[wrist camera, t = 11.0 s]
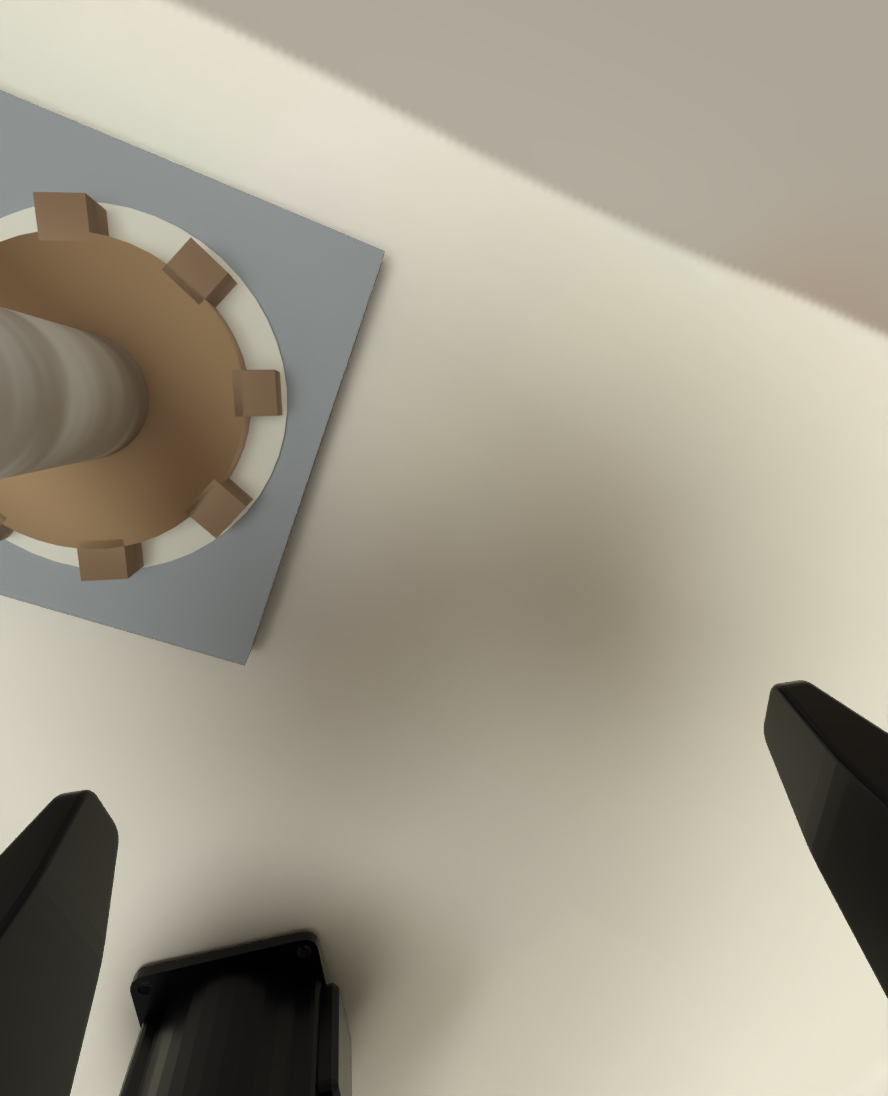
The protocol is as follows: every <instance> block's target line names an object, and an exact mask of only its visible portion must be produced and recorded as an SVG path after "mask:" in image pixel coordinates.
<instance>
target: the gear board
mask: <svg viewBox="0 0 888 1096" xmlns="http://www.w3.org/2000/svg"><path fill="white" fill-rule="evenodd" d="M33 192H69V193H86V194H87V195H88V196H90V197H91V198H92V199H93V200H94V201H96V202H97V203H98V204H99V205H101V206H102V207H103V208H104V209H105V210H106V213H107V222H108V232H109V236H110V237H113V238H116V239H119V240H121V241H124V242H127V243H130V244H132V245H134V246H136V247H138V248H141V249H143V250H145V251H147V252H149V253H151V254H152V255H154V256H155V257H157V258H159V259H160V260H162V261H163V262H165V263H166V264H167V263H168V262H169V261H170V260H171V259H172V258H173V257H174V255H175V254H176V253H177V252H178V251H179V250H180V249H181V248H182V247H183V245H184V244H185V243H186V242H187V241H188V240H189V239H190V238H192V239H193V240H194V241H195V242H196V243H197V244H198V245H200V246H201V247H202V248H203V249H204V250H205V251H206V252H207V253H208V254H209V255H210V256H211V257H212V258H213V259H214V260H215V261H216V262H217V263H218V264H219V265H220V266H222V267H223V268H224V269H225V270H226V271H227V272H228V273H229V274H230V275H231V277H232V278H233V279H234V280H235V281H236V282H237V284H236V286H235V287H234V288H233V289H232V290H231V291H230V292H229V293H228V294H227V296H226V297H225V298H224V299H223V300H222V301H221V302H220V303H219V304H218V305H217V307H216V309H217V310H218V311H219V313H220V314H221V316H222V317H223V318H224V320H225V321H226V323H227V324H228V326H229V328H230V330H231V331H232V333H233V335H234V337H235V338H236V341H237V343H238V346H239V348H240V350H241V353H242V355H243V358H244V362H245V366H246V369H247V370H273V369H275V370H276V371H278V372H280V382H281V398H282V414H283V415H280V416H251V417H250V424H249V432H248V435H247V439H246V443H245V447H244V450H243V452H242V454H241V457H240V459H239V462H238V464H237V466H236V468H235V469H234V471H233V473H232V474H231V476H230V478H229V479H231V480H232V481H233V482H234V483H235V484H236V485H238V486H239V487H240V488H241V489H242V490H243V491H244V492H246V493H247V494H248V495H249V496H250V497H251V498H252V499H253V500H252V501H251V502H250V503H249V504H248V505H247V507H246V508H245V509H244V510H243V511H242V512H241V513H240V514H239V515H238V516H237V517H236V518H235V520H234V521H233V522H232V523H231V524H230V525H229V526H228V527H227V528H226V529H225V530H224V531H223V532H222V533H221V534H220V535H219V537H218V538H217V539H216V538H215V537H214V536H213V535H211V534H210V533H209V532H208V531H207V530H205V529H204V528H203V527H202V526H201V525H199V524H198V523H197V522H196V521H195V520H193V519H192V518H191V517H189V518H187V519H186V520H185V521H183V522H182V523H180V524H179V525H178V526H176V527H174V528H172V529H171V530H169V531H167V532H165V533H163V534H161V535H159V536H157V537H154V538H151V539H149V540H146V541H143V542H141V544H142V553H143V562H144V566H143V567H142V568H141V569H140V570H138V571H137V572H136V573H135V574H133V575H132V576H131V577H130V578H128V579H116V580H96V581H81V577H80V569H79V561H78V553H77V548H70V547H63V546H57V545H54V544H50V543H46V542H42V541H38V540H36V539H33V538H31V537H28V536H25V535H23V534H20V533H18V532H16V531H13V532H12V534H11V535H10V536H9V537H8V538H6V539H4V540H1V541H0V595H3V596H6V597H10V598H13V599H16V600H20V601H23V602H27V603H30V604H34V605H37V606H41V607H44V608H48V609H51V610H54V611H58V612H61V613H65V614H68V615H72V616H75V617H79V618H82V619H86V620H89V621H92V622H96V623H99V624H103V625H106V626H110V627H113V628H117V629H120V630H124V631H127V632H130V633H134V634H137V635H141V636H144V637H148V638H151V639H155V640H158V641H162V642H165V643H168V644H172V645H175V646H179V647H182V648H186V649H189V650H193V651H196V652H200V653H203V654H206V655H210V656H213V657H217V658H220V659H224V660H227V661H231V662H234V663H238V664H241V665H244V666H245V664H246V661H247V658H248V656H249V653H250V651H251V648H252V645H253V642H254V639H255V636H256V633H257V630H258V627H259V624H260V621H261V618H262V615H263V612H264V609H265V606H266V603H267V600H268V597H269V595H270V592H271V589H272V586H273V583H274V580H275V577H276V574H277V571H278V568H279V565H280V562H281V559H282V556H283V553H284V550H285V547H286V544H287V541H288V538H289V535H290V532H291V529H292V526H293V523H294V521H295V518H296V515H297V512H298V509H299V506H300V503H301V500H302V497H303V494H304V491H305V488H306V485H307V482H308V479H309V476H310V473H311V470H312V467H313V464H314V461H315V458H316V455H317V452H318V450H319V447H320V444H321V441H322V438H323V435H324V432H325V429H326V426H327V423H328V420H329V417H330V414H331V411H332V408H333V405H334V402H335V399H336V396H337V393H338V390H339V387H340V384H341V381H342V378H343V376H344V373H345V370H346V367H347V364H348V361H349V358H350V355H351V352H352V349H353V346H354V343H355V340H356V337H357V334H358V331H359V328H360V325H361V322H362V319H363V316H364V313H365V310H366V307H367V304H368V302H369V299H370V296H371V293H372V290H373V287H374V284H375V281H376V278H377V275H378V272H379V269H380V266H381V263H382V260H383V256H384V252H385V251H383V250H381V249H378V248H376V247H373V246H371V245H369V244H366V243H364V242H362V241H359V240H357V239H354V238H352V237H350V236H347V235H345V234H342V233H340V232H338V231H335V230H333V229H331V228H328V227H326V226H323V225H321V224H319V223H316V222H314V221H311V220H309V219H307V218H304V217H302V216H299V215H297V214H295V213H292V212H290V211H288V210H285V209H283V208H280V207H278V206H276V205H273V204H271V203H268V202H266V201H264V200H261V199H259V198H256V197H254V196H252V195H249V194H247V193H245V192H242V191H240V190H237V189H235V188H233V187H230V186H228V185H225V184H223V183H221V182H218V181H216V180H214V179H211V178H209V177H206V176H204V175H202V174H199V173H197V172H194V171H192V170H190V169H187V168H185V167H182V166H180V165H178V164H175V163H173V162H171V161H168V160H166V159H163V158H161V157H159V156H156V155H154V154H151V153H149V152H147V151H144V150H142V149H139V148H137V147H135V146H132V145H130V144H128V143H125V142H123V141H120V140H118V139H116V138H113V137H111V136H108V135H106V134H104V133H101V132H99V131H97V130H94V129H92V128H89V127H87V126H85V125H82V124H80V123H77V122H75V121H73V120H70V119H68V118H65V117H63V116H61V115H58V114H56V113H54V112H51V111H49V110H46V109H44V108H42V107H39V106H37V105H34V104H32V103H30V102H27V101H25V100H22V99H20V98H18V97H15V96H13V95H11V94H8V93H6V92H3V91H1V90H0V242H1V241H4V240H7V239H10V238H13V237H15V236H18V235H23V234H28V233H33V232H38V230H37V222H36V214H35V206H34V198H33Z"/></svg>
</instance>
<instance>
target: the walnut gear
mask: <svg viewBox="0 0 888 1096" xmlns="http://www.w3.org/2000/svg"><path fill="white" fill-rule="evenodd" d="M33 198H34V206H35V214H36V222H37V230H38V232H33V233H28V234H23V235H18V236H15V237H13V238H10V239H7V240H4V241H1V242H0V541H1V540H4V539H6V538H8V537H9V536H10V535H11V534H12V532H13V531H16V532H18V533H20V534H23V535H25V536H28V537H31V538H33V539H36V540H38V541H42V542H46V543H50V544H54V545H57V546H63V547H70V548H77V553H78V561H79V569H80V577H81V581H96V580H116V579H128V578H130V577H131V576H132V575H133V574H135V573H136V572H137V571H138V570H140V569H141V568H142V567H143V566H144V562H143V553H142V544H141V542H143V541H146V540H149V539H151V538H154V537H157V536H159V535H161V534H163V533H165V532H167V531H169V530H171V529H172V528H174V527H176V526H178V525H179V524H180V523H182V522H183V521H185V520H186V519H187V518H189V517H191V518H192V519H193V520H195V521H196V522H197V523H198V524H199V525H201V526H202V527H203V528H204V529H205V530H207V531H208V532H209V533H210V534H211V535H213V536H214V537H215V538H216V539H217V538H218V537H219V535H220V534H221V533H222V532H223V531H224V530H225V529H226V528H227V527H228V526H229V525H230V524H231V523H232V522H233V521H234V520H235V518H236V517H237V516H238V515H239V514H240V513H241V512H242V511H243V510H244V509H245V508H246V507H247V505H248V504H249V503H250V502H251V501H252V500H253V499H252V498H251V497H250V496H249V495H248V494H247V493H246V492H244V491H243V490H242V489H241V488H240V487H239V486H238V485H236V484H235V483H234V482H233V481H232V480H231V479H229V478H230V476H231V474H232V473H233V471H234V469H235V468H236V466H237V464H238V462H239V459H240V457H241V454H242V452H243V450H244V447H245V443H246V439H247V435H248V432H249V424H250V417H251V416H280V415H283V414H282V398H281V382H280V372H278V371H276V370H275V369H273V370H247V369H246V366H245V362H244V358H243V355H242V353H241V350H240V348H239V346H238V343H237V341H236V338H235V337H234V335H233V333H232V331H231V330H230V328H229V326H228V324H227V323H226V321H225V320H224V318H223V317H222V316H221V314H220V313H219V311H218V310H217V309H216V307H217V305H218V304H219V303H220V302H221V301H222V300H223V299H224V298H225V297H226V296H227V294H228V293H229V292H230V291H231V290H232V289H233V288H234V287H235V286H236V284H237V282H236V281H235V280H234V279H233V278H232V277H231V275H230V274H229V273H228V272H227V271H226V270H225V269H224V268H223V267H222V266H220V265H219V264H218V263H217V262H216V261H215V260H214V259H213V258H212V257H211V256H210V255H209V254H208V253H207V252H206V251H205V250H204V249H203V248H202V247H201V246H200V245H198V244H197V243H196V242H195V241H194V240H193V239H192V238H190V239H189V240H188V241H187V242H186V243H185V244H184V245H183V247H182V248H181V249H180V250H179V251H178V252H177V253H176V254H175V255H174V257H173V258H172V259H171V260H170V261H169V262H168V263H167V264H166V263H165V262H163V261H162V260H160V259H159V258H157V257H155V256H154V255H152V254H151V253H149V252H147V251H145V250H143V249H141V248H138V247H136V246H134V245H132V244H130V243H127V242H124V241H121V240H119V239H116V238H113V237H110V236H109V232H108V222H107V213H106V210H105V209H104V208H103V207H102V206H101V205H99V204H98V203H97V202H96V201H94V200H93V199H92V198H91V197H90V196H88V195H87V194H86V193H69V192H33Z"/></svg>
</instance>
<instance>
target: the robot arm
mask: <svg viewBox="0 0 888 1096" xmlns="http://www.w3.org/2000/svg"><path fill="white" fill-rule="evenodd" d="M764 735H765V740H766V743H767V746H768V748H769V751H770V753H771V756H772V758H773V761H774V763H775V766H776V768H777V771H778V773H779V776H780V778H781V781H782V783H783V786H784V788H785V791H786V793H787V796H788V798H789V801H790V803H791V806H792V808H793V811H794V813H795V816H796V818H797V821H798V823H799V826H800V828H801V831H802V833H803V836H804V838H805V840H806V843H807V845H808V847H809V850H810V852H811V854H812V856H813V858H814V860H815V862H816V864H817V866H818V868H819V870H820V872H821V874H822V876H823V878H824V880H825V881H826V883H827V885H828V887H829V889H830V891H831V893H832V895H833V896H834V898H835V900H836V902H837V904H838V906H839V908H840V910H841V912H842V913H843V915H844V917H845V919H846V921H847V923H848V925H849V927H850V929H851V930H852V932H853V934H854V936H855V938H856V940H857V942H858V944H859V945H860V947H861V949H862V951H863V953H864V955H865V957H866V959H867V961H868V962H869V964H870V966H871V968H872V970H873V972H874V974H875V976H876V978H877V979H878V981H879V983H880V985H881V987H882V989H883V991H884V993H885V994H886V996H887V998H888V733H887V732H885V731H884V730H882V729H881V728H879V727H878V726H876V725H875V724H873V723H871V722H870V721H868V720H867V719H865V718H864V717H862V716H861V715H859V714H858V713H856V712H855V711H853V710H851V709H850V708H848V707H847V706H845V705H844V704H842V703H841V702H839V701H838V700H836V699H835V698H833V697H831V696H830V695H828V694H827V693H825V692H824V691H822V690H821V689H819V688H818V687H816V686H815V685H813V684H811V683H809V682H807V681H803V680H799V681H792V682H785V683H779V684H776V685H774V686H773V687H772V689H771V691H770V695H769V701H768V706H767V711H766V716H765V722H764ZM117 850H118V831H117V828H116V825H115V823H114V821H113V820H112V818H111V817H110V815H109V814H108V812H107V811H106V809H105V808H104V806H103V805H102V803H101V801H100V800H99V798H98V797H97V795H96V794H95V793H94V792H92V791H90V790H82V791H75V792H69V793H64V794H60V795H58V796H57V797H55V798H54V799H53V800H52V801H51V802H50V803H49V804H48V805H47V806H46V807H45V808H44V809H43V810H42V811H41V812H40V813H39V814H38V816H37V817H36V818H35V819H34V820H33V821H32V822H31V823H30V824H29V825H28V826H27V827H26V828H25V829H24V830H23V831H22V832H21V834H20V835H19V836H18V837H17V838H16V839H15V840H14V841H13V842H12V843H11V844H10V845H9V846H8V847H7V848H6V849H5V850H4V852H3V853H2V854H1V855H0V1096H70V1093H71V1089H72V1084H73V1080H74V1076H75V1072H76V1068H77V1064H78V1060H79V1056H80V1051H81V1047H82V1043H83V1039H84V1035H85V1031H86V1027H87V1023H88V1018H89V1014H90V1010H91V1006H92V1002H93V998H94V994H95V989H96V985H97V981H98V977H99V972H100V967H101V963H102V958H103V951H104V945H105V939H106V931H107V924H108V917H109V909H110V902H111V894H112V887H113V880H114V872H115V865H116V857H117ZM301 946H308V947H310V948H309V949H307V950H302V949H300V948H299V947H301ZM143 982H148V983H150V984H151V986H145V985H143V984H142V983H143ZM130 992H131V996H132V999H133V1002H134V1006H135V1009H136V1013H137V1016H138V1020H139V1023H140V1027H141V1030H140V1033H139V1036H138V1039H137V1042H136V1045H135V1048H134V1051H133V1054H132V1057H131V1060H130V1063H129V1066H128V1070H127V1073H126V1076H125V1079H124V1082H123V1085H122V1088H121V1091H120V1094H119V1096H352V1070H351V1038H350V1034H349V1029H348V1024H347V1020H346V1015H345V1011H344V1006H343V1001H342V997H341V992H340V988H339V987H338V986H337V985H335V984H334V983H331V984H328V981H327V976H326V972H325V967H324V963H323V958H322V954H321V949H320V945H319V940H318V938H317V936H316V935H314V934H313V933H311V932H299V933H295V934H290V935H286V936H282V937H277V938H273V939H268V940H264V941H260V942H255V943H251V944H247V945H242V946H238V947H234V948H229V949H225V950H220V951H216V952H212V953H207V954H203V955H199V956H194V957H190V958H186V959H181V960H177V961H172V962H168V963H164V964H159V965H155V966H151V967H146V968H143V969H141V970H139V971H138V972H137V973H136V974H135V976H134V979H133V981H132V984H131V987H130Z"/></svg>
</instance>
